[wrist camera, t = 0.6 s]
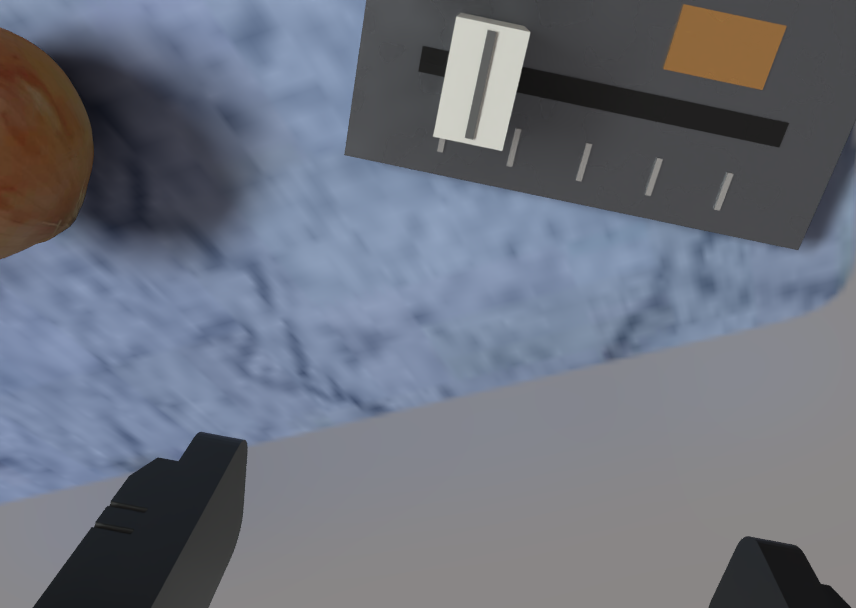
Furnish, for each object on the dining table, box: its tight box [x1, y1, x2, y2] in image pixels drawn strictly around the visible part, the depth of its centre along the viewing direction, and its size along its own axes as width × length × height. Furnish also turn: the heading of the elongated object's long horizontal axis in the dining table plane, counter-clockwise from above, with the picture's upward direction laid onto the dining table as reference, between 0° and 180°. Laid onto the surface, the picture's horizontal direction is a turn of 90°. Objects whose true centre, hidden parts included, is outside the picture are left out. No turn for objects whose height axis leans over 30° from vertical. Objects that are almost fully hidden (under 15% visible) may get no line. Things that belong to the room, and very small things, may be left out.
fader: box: [433, 13, 530, 151], centre depth 26 cm, size 4×2×4 cm, turn 169°
